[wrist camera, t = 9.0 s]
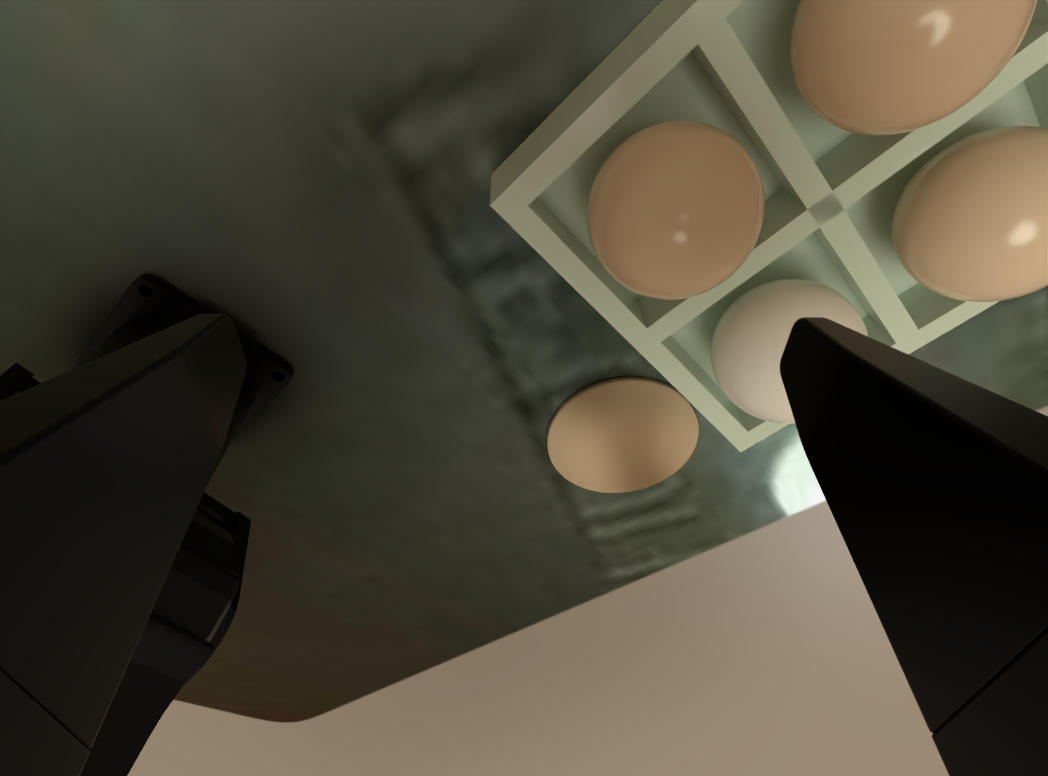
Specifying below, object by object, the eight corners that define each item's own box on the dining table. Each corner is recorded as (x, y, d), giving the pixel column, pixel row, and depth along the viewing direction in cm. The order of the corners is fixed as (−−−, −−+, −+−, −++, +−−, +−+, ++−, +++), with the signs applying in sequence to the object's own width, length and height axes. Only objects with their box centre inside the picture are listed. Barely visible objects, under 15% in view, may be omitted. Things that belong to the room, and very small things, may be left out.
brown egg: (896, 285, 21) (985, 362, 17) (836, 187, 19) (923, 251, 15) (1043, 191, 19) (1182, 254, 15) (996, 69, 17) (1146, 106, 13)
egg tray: (719, 406, 26) (740, 452, 24) (491, 173, 19) (489, 205, 17) (1073, 182, 20) (1149, 213, 18) (917, -261, 13) (1006, -305, 11)
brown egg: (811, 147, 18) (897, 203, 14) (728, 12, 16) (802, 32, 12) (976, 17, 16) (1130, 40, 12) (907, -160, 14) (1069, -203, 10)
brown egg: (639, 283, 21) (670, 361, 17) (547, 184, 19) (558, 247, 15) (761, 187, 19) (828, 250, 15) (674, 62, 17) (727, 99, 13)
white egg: (735, 388, 24) (785, 475, 20) (667, 316, 22) (708, 398, 18) (847, 314, 22) (927, 394, 18) (786, 226, 20) (862, 295, 16)
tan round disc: (609, 506, 30) (610, 511, 30) (516, 436, 27) (516, 442, 26) (725, 435, 27) (727, 441, 27) (636, 348, 24) (638, 353, 24)
